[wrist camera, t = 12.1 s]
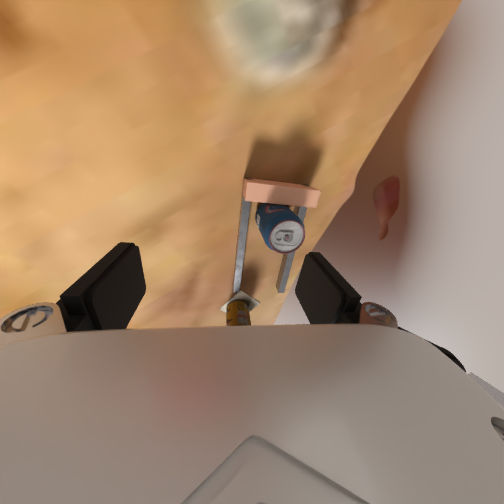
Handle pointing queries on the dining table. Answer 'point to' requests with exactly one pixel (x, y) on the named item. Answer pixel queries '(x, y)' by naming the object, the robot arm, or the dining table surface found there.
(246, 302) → the condiment
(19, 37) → the dining table surface
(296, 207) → the guide channel
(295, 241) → the soda can
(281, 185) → the stop block
